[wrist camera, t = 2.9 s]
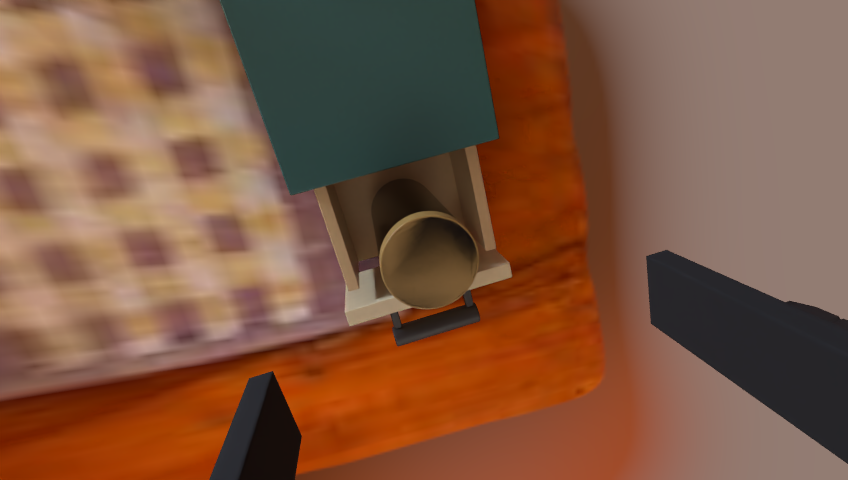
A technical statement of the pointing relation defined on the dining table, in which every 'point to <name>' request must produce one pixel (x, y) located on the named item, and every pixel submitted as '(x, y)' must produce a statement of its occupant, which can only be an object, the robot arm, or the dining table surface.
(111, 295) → the dining table surface
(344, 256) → the drawer
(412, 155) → the cabinet
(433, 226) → the tin
